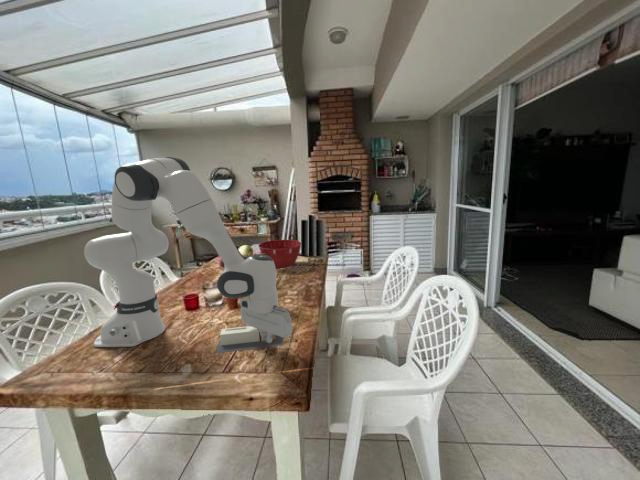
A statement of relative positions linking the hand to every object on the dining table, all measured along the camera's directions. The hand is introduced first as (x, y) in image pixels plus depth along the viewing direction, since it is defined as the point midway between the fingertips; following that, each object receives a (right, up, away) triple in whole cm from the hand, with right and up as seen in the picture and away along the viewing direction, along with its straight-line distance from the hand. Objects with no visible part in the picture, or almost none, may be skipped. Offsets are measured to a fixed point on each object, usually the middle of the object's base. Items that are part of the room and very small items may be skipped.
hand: (267, 341), depth 96 cm
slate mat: (-7, -1, +6) cm, 9 cm away
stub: (-1, -1, +6) cm, 6 cm away
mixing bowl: (-8, +16, +97) cm, 99 cm away
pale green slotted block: (-10, -1, +4) cm, 11 cm away
